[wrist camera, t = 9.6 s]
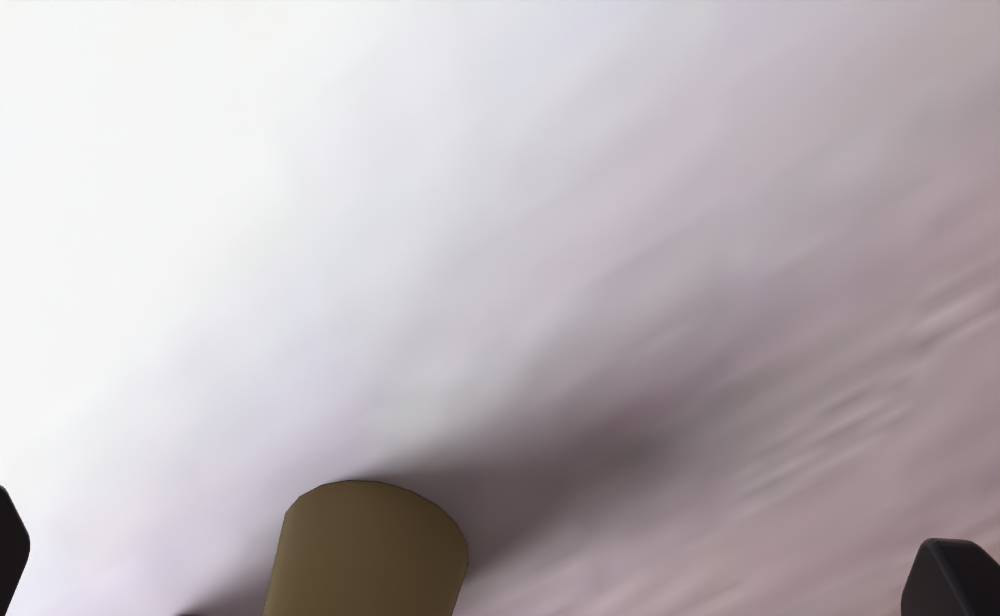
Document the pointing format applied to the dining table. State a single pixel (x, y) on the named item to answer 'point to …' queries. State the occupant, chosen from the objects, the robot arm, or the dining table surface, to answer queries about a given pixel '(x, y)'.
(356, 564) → the olive drink cup
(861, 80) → the dining table surface
